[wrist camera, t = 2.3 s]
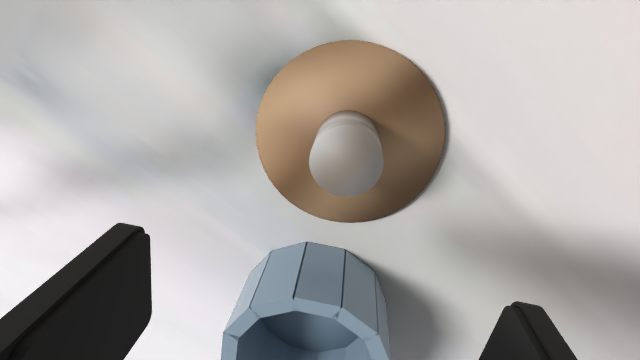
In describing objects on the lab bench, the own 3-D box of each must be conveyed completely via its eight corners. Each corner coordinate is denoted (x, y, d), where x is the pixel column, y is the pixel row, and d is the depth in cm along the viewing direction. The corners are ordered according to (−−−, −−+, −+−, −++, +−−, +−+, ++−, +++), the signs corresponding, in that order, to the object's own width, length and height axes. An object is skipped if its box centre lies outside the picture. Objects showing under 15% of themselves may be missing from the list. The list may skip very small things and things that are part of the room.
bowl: (412, 301, 28) (425, 368, 22) (322, 370, 32) (315, 441, 26) (303, 217, 26) (288, 267, 20) (222, 301, 30) (191, 363, 24)
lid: (482, 130, 23) (512, 156, 18) (353, 245, 27) (353, 289, 23) (340, -7, 20) (335, -15, 16) (224, 143, 25) (196, 169, 20)
